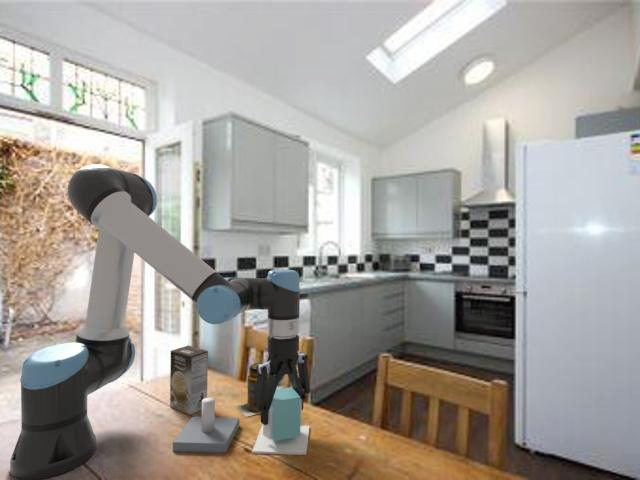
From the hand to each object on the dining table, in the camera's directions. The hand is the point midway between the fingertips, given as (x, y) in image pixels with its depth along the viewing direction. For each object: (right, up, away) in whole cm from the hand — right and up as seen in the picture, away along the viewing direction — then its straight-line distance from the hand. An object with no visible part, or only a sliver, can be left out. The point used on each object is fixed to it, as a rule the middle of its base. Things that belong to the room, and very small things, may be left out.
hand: (282, 430), depth 89 cm
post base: (-18, -2, +1) cm, 18 cm away
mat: (0, -2, 0) cm, 2 cm away
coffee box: (-28, -2, +17) cm, 33 cm away
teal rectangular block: (0, 0, 0) cm, 0 cm away
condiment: (-9, -2, +16) cm, 19 cm away
